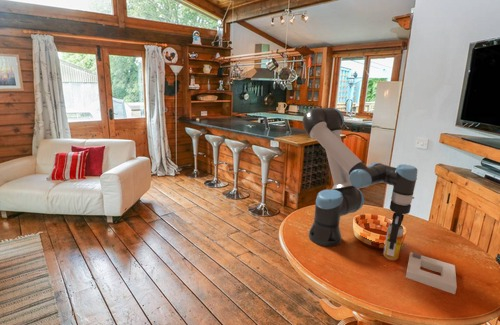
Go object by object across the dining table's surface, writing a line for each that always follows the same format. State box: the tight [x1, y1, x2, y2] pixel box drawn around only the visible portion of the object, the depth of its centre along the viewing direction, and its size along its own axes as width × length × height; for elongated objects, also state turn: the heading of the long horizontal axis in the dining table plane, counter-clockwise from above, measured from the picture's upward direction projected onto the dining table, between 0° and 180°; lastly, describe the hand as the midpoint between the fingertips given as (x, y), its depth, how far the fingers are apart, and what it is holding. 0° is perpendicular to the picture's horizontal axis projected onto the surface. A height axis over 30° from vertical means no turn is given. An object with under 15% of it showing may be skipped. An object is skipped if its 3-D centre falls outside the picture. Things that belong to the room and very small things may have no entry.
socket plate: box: [405, 251, 458, 295], centre depth 114 cm, size 16×16×4 cm
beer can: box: [382, 222, 405, 261], centre depth 123 cm, size 6×6×15 cm
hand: (392, 248), depth 124 cm, fingers open, 11 cm apart
